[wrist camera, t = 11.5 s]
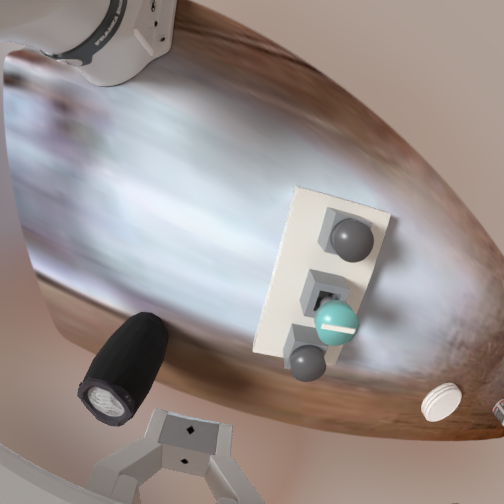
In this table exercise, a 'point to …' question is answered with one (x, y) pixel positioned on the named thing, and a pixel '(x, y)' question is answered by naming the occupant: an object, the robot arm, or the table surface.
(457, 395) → the white jar lid
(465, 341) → the table surface
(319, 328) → the teal dial
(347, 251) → the near knob
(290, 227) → the mount panel
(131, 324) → the portable speaker
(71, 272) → the table surface
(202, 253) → the table surface
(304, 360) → the far knob
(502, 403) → the pill bottle
